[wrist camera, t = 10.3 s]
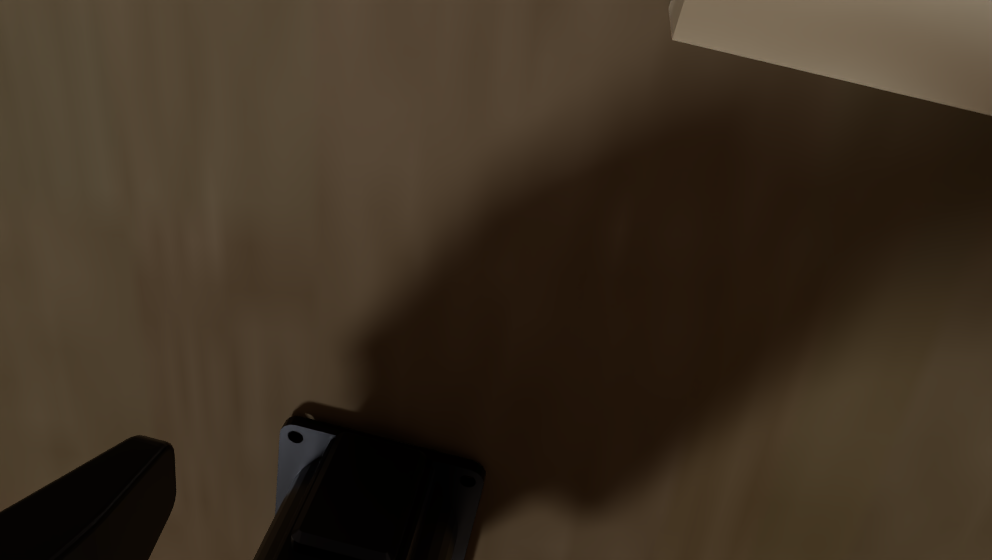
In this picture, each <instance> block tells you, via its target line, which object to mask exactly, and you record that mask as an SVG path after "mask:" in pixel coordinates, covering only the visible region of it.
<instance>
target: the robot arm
mask: <svg viewBox="0 0 992 560" xmlns="http://www.w3.org/2000/svg"><path fill="white" fill-rule="evenodd" d="M295 431H297V432H299V433H300V434H298V433H296V432H295ZM464 475H469V476H471V477H473V478H468V477H466V476H464ZM485 476H486V472H485V470H484V468H483V466H481V465H480V464H479V463H477V462H475V461H472V460H468V459H464V458H460V457H456V456H452V455H448V454H444V453H441V452H437V451H433V450H429V449H425V448H421V447H417V446H413V445H409V444H405V443H401V442H398V441H394V440H390V439H386V438H382V437H378V436H374V435H370V434H366V433H362V432H359V431H355V430H351V429H347V428H343V427H339V426H335V425H331V424H327V423H323V422H319V421H316V420H312V419H308V418H304V417H298V416H294V417H290V418H288V419H287V420H286V422H285V423H284V425H283V427H282V429H281V431H280V441H279V458H278V476H277V494H276V511H275V517H274V519H273V521H272V523H271V525H270V527H269V529H268V531H267V533H266V535H265V537H264V539H263V541H262V543H261V545H260V547H259V549H258V551H257V553H256V555H255V557H254V559H253V560H464V557H465V554H466V550H467V546H468V542H469V538H470V535H471V531H472V527H473V523H474V519H475V515H476V512H477V508H478V504H479V500H480V496H481V493H482V489H483V485H484V481H485ZM175 497H176V476H175V455H174V448H173V447H172V445H171V444H170V443H168V442H166V441H162V440H158V439H154V438H151V437H147V436H142V435H137V436H133V437H130V438H128V439H126V440H125V441H123V442H121V443H119V444H118V445H116V446H114V447H112V448H111V449H109V450H107V451H105V452H104V453H102V454H100V455H99V456H97V457H95V458H93V459H92V460H90V461H88V462H86V463H85V464H83V465H81V466H79V467H78V468H76V469H74V470H72V471H71V472H69V473H67V474H66V475H64V476H62V477H60V478H59V479H57V480H55V481H53V482H52V483H50V484H48V485H46V486H45V487H43V488H41V489H39V490H38V491H36V492H34V493H32V494H31V495H29V496H27V497H26V498H24V499H22V500H20V501H19V502H17V503H15V504H13V505H12V506H10V507H8V508H6V509H5V510H3V511H1V512H0V560H148V559H149V557H150V555H151V553H152V551H153V549H154V547H155V544H156V542H157V540H158V538H159V536H160V534H161V532H162V530H163V528H164V526H165V524H166V522H167V520H168V518H169V516H170V513H171V511H172V508H173V505H174V502H175Z"/></svg>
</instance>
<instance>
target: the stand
mask: <svg viewBox="0 0 992 560" xmlns="http://www.w3.org/2000/svg"><path fill="white" fill-rule="evenodd" d="M669 16H670V25H671V34H672V40H675V41H680V42H684V43H688V44H692V45H696V46H701V47H705V48H709V49H713V50H717V51H722V52H726V53H730V54H734V55H738V56H743V57H747V58H751V59H755V60H759V61H764V62H768V63H772V64H776V65H780V66H785V67H789V68H793V69H797V70H801V71H806V72H810V73H814V74H818V75H822V76H827V77H831V78H835V79H839V80H844V81H848V82H852V83H856V84H860V85H865V86H869V87H873V88H877V89H881V90H886V91H890V92H894V93H898V94H902V95H907V96H911V97H915V98H919V99H923V100H928V101H932V102H936V103H940V104H944V105H949V106H953V107H957V108H961V109H965V110H970V111H974V112H978V113H982V114H986V115H991V116H992V0H671V2H670V5H669Z"/></svg>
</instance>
